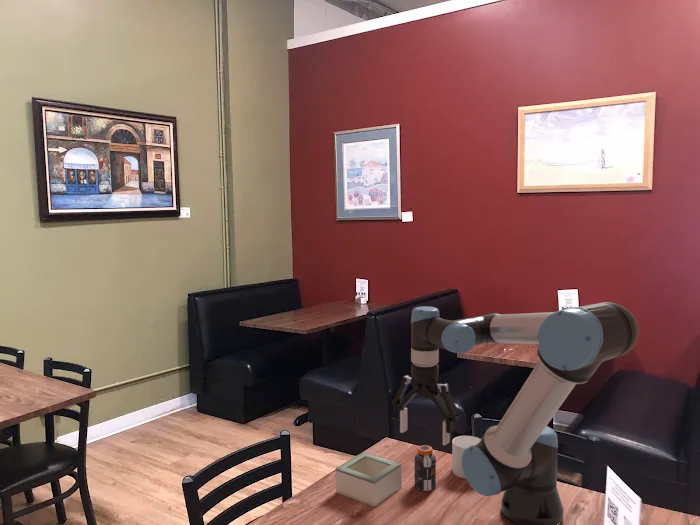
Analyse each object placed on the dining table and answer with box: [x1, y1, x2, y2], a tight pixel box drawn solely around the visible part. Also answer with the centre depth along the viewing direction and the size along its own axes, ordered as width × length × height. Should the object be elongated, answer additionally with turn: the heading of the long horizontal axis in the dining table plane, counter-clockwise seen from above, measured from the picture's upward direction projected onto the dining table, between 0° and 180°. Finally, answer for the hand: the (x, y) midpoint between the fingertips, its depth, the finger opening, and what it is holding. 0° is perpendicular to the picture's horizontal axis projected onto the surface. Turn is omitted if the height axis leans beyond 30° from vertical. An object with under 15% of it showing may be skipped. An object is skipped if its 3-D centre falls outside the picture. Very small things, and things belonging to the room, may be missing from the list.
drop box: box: [335, 451, 402, 508], centre depth 159 cm, size 13×13×7 cm
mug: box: [451, 435, 481, 480], centre depth 170 cm, size 12×9×9 cm
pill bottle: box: [414, 444, 437, 492], centre depth 161 cm, size 6×6×11 cm
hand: (424, 437), depth 160 cm, fingers open, 13 cm apart
